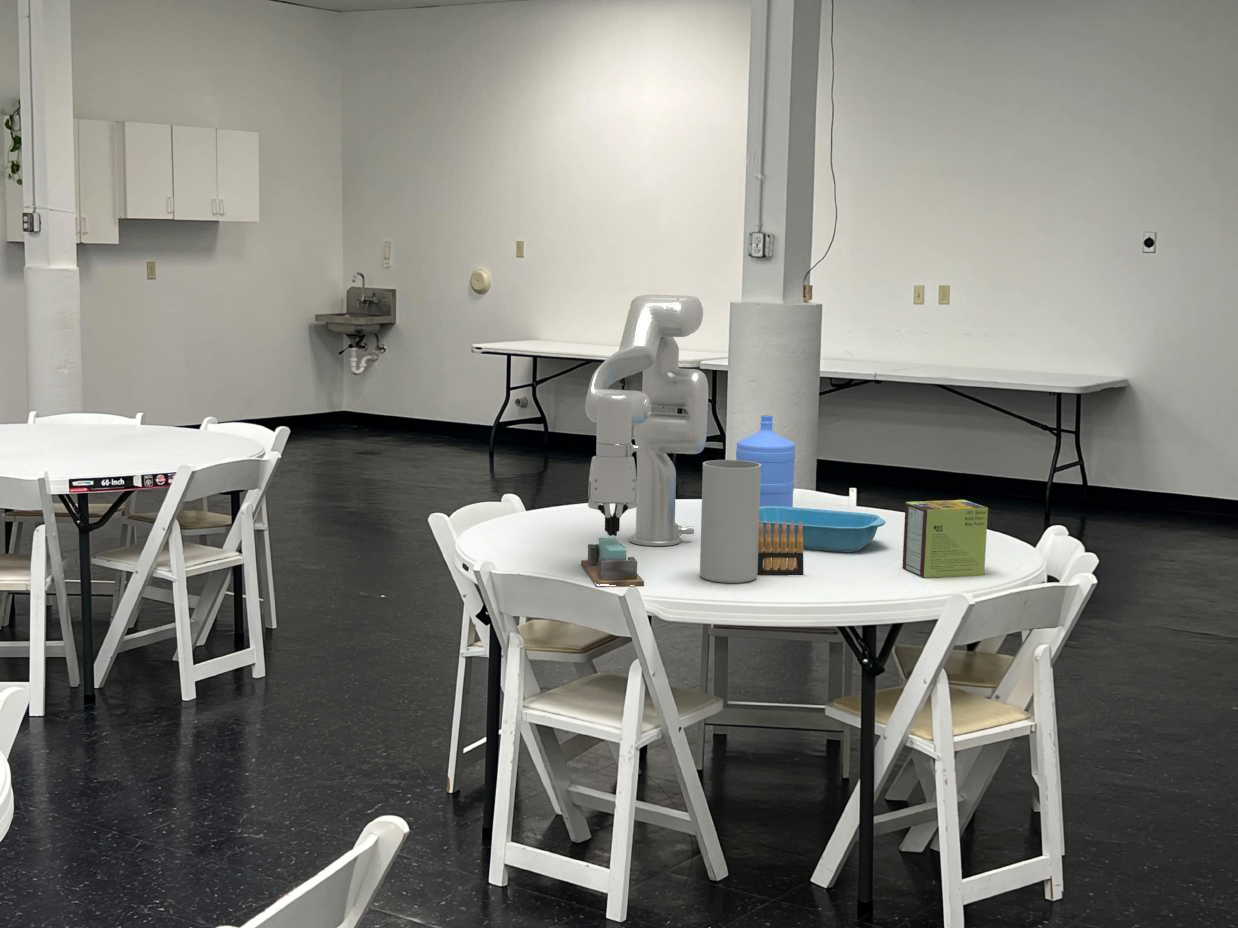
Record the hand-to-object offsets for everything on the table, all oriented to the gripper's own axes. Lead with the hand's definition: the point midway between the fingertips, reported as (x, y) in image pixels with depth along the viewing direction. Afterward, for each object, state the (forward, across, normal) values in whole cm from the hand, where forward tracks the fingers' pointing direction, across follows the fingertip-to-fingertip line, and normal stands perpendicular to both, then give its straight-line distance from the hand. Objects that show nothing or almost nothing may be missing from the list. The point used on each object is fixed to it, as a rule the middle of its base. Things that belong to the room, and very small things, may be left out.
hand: (611, 534), depth 303 cm
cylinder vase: (+9, -25, +5) cm, 27 cm away
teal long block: (+8, 0, 0) cm, 8 cm away
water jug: (+8, -52, -61) cm, 81 cm away
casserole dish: (+9, -55, -31) cm, 64 cm away
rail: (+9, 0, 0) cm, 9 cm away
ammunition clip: (+9, -37, +3) cm, 38 cm away
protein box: (+9, -75, +4) cm, 76 cm away
